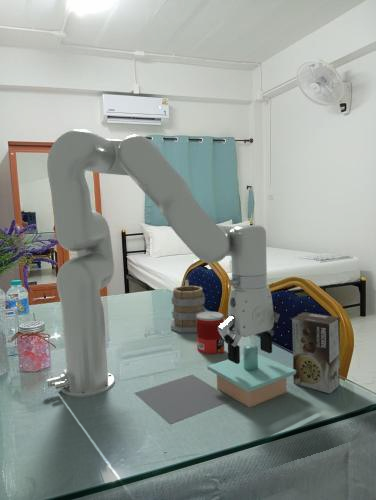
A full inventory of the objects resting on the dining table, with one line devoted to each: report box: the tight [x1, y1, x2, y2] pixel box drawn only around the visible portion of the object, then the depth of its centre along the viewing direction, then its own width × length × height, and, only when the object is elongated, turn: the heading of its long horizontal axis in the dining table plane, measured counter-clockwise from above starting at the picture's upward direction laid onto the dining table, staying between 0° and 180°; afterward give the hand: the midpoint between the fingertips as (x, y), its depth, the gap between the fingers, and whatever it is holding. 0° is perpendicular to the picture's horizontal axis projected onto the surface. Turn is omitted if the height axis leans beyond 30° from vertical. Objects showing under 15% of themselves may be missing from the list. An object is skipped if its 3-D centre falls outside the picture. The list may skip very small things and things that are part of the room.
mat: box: [134, 374, 234, 425], centre depth 86 cm, size 16×16×1 cm
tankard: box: [170, 279, 207, 334], centre depth 140 cm, size 20×13×15 cm, turn 179°
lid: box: [206, 343, 296, 392], centre depth 87 cm, size 14×14×6 cm
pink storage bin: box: [216, 374, 287, 409], centre depth 88 cm, size 11×11×5 cm
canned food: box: [196, 311, 225, 355], centre depth 114 cm, size 8×8×11 cm
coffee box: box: [291, 311, 341, 394], centre depth 91 cm, size 9×6×16 cm
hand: (250, 356), depth 87 cm, fingers open, 9 cm apart
